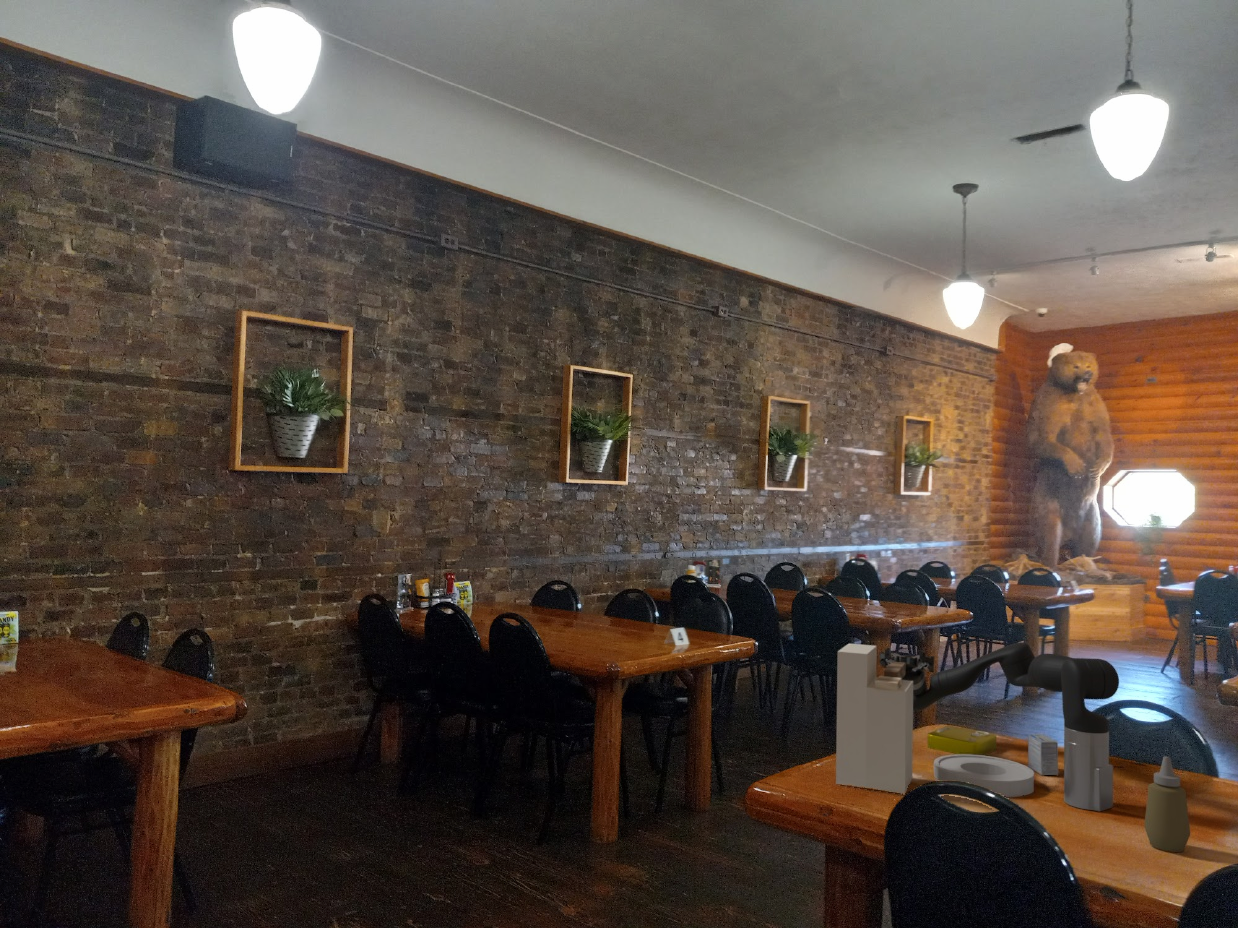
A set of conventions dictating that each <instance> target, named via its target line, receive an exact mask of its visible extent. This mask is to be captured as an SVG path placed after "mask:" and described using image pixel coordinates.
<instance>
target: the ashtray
mask: <svg viewBox="0 0 1238 928" xmlns="http://www.w3.org/2000/svg"><path fill="white" fill-rule="evenodd" d="M934 777H935V778H936V779H937V780H956V781H961V782H969V783H970V784H974V785H979V786H981V787H985V788H988V789H990V790H992V791H993V792H997V793H1001V795H1004V796H1006V797H1005V798H1017V797H1023V795H1024V796H1028V795H1030V794H1032V793H1034V791H1035V788H1034V787H1035V783H1034V782H1035V771H1034V770H1033V769H1031V768H1030V767H1029V766H1028V765H1024V764H1022V763H1020V762H1017V761H1013V760H1010V759H1005V758H1001V757H996V756H990V755H988V756H987V755H984V756H983V755H971V754H947V755H941V756H939V757H936V758H935V759H934V761H933V778H934Z"/></svg>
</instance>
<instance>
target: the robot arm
mask: <svg viewBox="0 0 1238 928" xmlns="http://www.w3.org/2000/svg"><path fill="white" fill-rule="evenodd" d="M1030 646H1031V645H1029V644H1028V643H1027V642H1016V643H1012V644H1008V645H1006V646H1003V647H1001V648H998V649H995V650H993V651H991V652H988V653H986V654H984V655H982V656H979V657H976V658H975V659H972V660H971V661H968V662H966V663H964V664H960V665H958V666H955V667H952V668H947V669H943V670H941V671H937V672H935V657H934V656H930V655H929V656H928V655H927V654H926V652H924V650H919V654H918V655H915V656H914V655H911V654H905V655H902V654H901V655H900V654H899V653H896V652H895V653H893V652H892V651H891V647H887V648H885V649H884V652H883V651H880V652H879V659H878V662H879V664H880V665H881V667H882V668H883V669H887V667H888V666H889V665H890V664H891V663H892V662H903V663H906V674H905V676H904V677H903V678H902V680H908V681H913V711H922V710H925V709H926V708H928V707H930V706H931V705H933V704H935V703H937V702H938V701H939V700H941V699H943V698H945V697H949V696H951V695H956V694H959V693H963V692H965V691H967V690H969V689H970V688H971V687H972V686H974V684H975V682H977V680H978V679H979V677H981V675H982V674H983V673H984V672H985V671H986V670H987V669H988V668H989V667H990V666H992V665H995V664H997V663H999V665H1000V668H1001V670H1002V671H1003V674H1004V676H1005V678H1006V680H1007V681H1008V683H1009V684H1010V685H1012V686H1014V687H1023V688H1024V687H1025V688H1026V687H1029V688H1030V687H1031V688H1039V689H1043V690H1047V691H1051V692H1057V693H1061V696H1062V697H1061V698H1062V699H1061V700H1062V702H1061V703H1062V704H1061V705H1062V714H1063V722H1064V723H1063V726H1064V727H1063V729H1064V730H1063V731H1064V733H1063V757H1064V758H1063V763H1064V764H1063V786H1064V787H1063V794H1064V795H1063V800H1064V801H1063V802H1064V803H1066V805H1069V806H1071V807H1074V808H1078V809H1084V810H1089V811H1090V810H1091V811H1096V812H1102V811H1106V810H1109V809H1110V808H1111V809H1112V808H1113V807H1114V765H1112V764H1110V753H1109V752H1110V746H1109V745H1110V722H1109V719H1108V718H1107V717H1105V715H1102V714H1099V713H1097V712H1094V711H1091V710H1089V709H1088V708H1087V707H1086V704H1085V700H1106V699H1108V700H1109V699H1110V698H1112V697H1113V696H1114V695H1115V694H1116V693H1117V692H1118V689H1119V687H1120V686H1119V685H1120V678H1119V677H1120V676H1119V675H1118V671H1117V670H1116V668H1115V667H1114V666H1113V664H1112V663H1110V662H1109V661H1108V660H1105V659H1101V658H1087V657H1086V658H1084V657H1083V658H1082V657H1081V658H1080V657H1070V656H1066V655H1062V654H1055V653H1041V654H1039V655H1037V656H1035V654H1034V653H1033V651H1032V648H1031V647H1030ZM925 669H926V670H927V671H928V672H930V673H933V674H932V675H930V679H929V680H930V681H929V686H927V680H926V677H925V676H926V675H925V673H926V672H925ZM934 672H935V673H934ZM928 687H929V689H928Z"/></svg>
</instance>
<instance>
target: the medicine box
mask: <svg viewBox="0 0 1238 928" xmlns="http://www.w3.org/2000/svg"><path fill="white" fill-rule="evenodd" d="M1027 737H1028V738H1027V740H1028V741H1027V744H1028V746H1027V747H1028V749H1027V750H1028V752H1027V753H1028V758H1027V759H1028V760H1027V761H1028V764H1027V767H1029V768H1030V769H1032V770H1033V772H1036V773H1038V774H1039V775H1041V776H1044V775H1057V776H1059V751H1058V750H1059V749H1058V744H1059V743H1058V741H1057V740H1055V739H1054V738H1051V737H1049V736H1047V735H1045V734H1040V733H1038V734H1036V733H1033V734H1032V733H1030V734H1028V736H1027Z"/></svg>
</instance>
